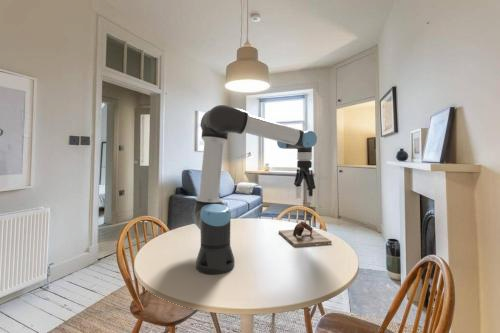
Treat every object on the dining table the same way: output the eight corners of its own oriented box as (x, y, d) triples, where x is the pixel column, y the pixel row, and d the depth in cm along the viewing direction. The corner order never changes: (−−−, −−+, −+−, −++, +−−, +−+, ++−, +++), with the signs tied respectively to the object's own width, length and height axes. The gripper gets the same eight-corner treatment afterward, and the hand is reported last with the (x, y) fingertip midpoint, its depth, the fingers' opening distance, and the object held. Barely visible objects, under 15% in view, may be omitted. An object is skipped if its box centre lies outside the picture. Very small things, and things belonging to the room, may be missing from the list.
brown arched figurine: (294, 232, 134) (301, 220, 134) (308, 242, 130) (316, 229, 130) (288, 232, 124) (296, 219, 124) (303, 243, 119) (312, 229, 119)
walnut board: (331, 243, 119) (331, 240, 119) (294, 246, 115) (294, 243, 115) (310, 230, 141) (310, 228, 141) (278, 233, 136) (278, 230, 136)
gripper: (323, 160, 115) (322, 204, 116) (300, 160, 140) (300, 196, 140) (309, 160, 114) (308, 204, 114) (288, 160, 138) (288, 196, 138)
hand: (303, 200), depth 127 cm, fingers open, 13 cm apart
